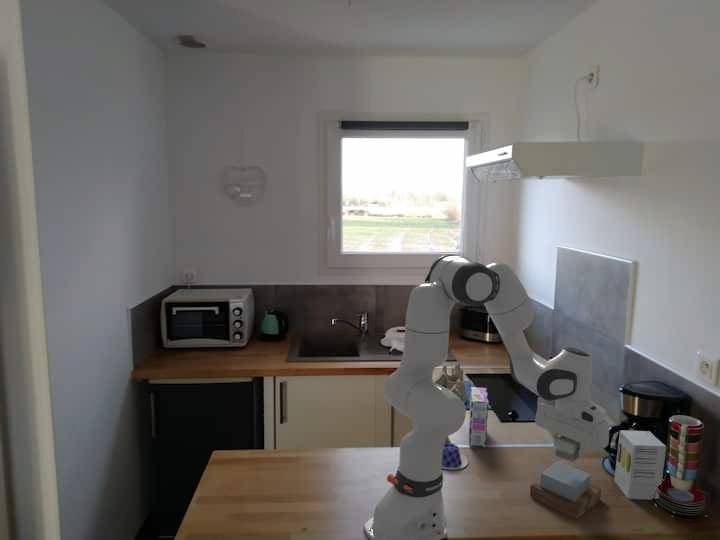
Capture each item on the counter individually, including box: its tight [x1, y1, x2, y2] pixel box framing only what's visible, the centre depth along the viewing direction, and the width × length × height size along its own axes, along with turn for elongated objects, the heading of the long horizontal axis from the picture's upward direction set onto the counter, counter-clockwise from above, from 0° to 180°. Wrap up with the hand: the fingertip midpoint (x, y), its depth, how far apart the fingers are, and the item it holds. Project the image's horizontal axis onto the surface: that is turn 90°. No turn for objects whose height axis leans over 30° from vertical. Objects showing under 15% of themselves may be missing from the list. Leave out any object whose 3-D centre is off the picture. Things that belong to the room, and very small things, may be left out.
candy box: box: [468, 386, 489, 448], centre depth 183 cm, size 14×6×16 cm, turn 168°
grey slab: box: [540, 460, 592, 502], centre depth 148 cm, size 10×10×4 cm
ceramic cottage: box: [433, 361, 468, 402], centre depth 217 cm, size 16×16×15 cm
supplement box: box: [613, 429, 667, 501], centre depth 152 cm, size 10×9×17 cm
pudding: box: [442, 442, 469, 471], centre depth 168 cm, size 12×12×5 cm
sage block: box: [555, 435, 582, 463], centre depth 147 cm, size 5×5×5 cm
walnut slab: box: [529, 477, 602, 520], centre depth 149 cm, size 14×14×4 cm
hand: (568, 450), depth 147 cm, fingers closed on sage block, 5 cm apart
